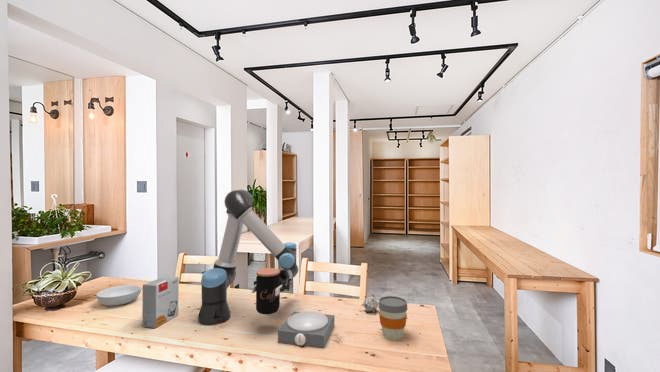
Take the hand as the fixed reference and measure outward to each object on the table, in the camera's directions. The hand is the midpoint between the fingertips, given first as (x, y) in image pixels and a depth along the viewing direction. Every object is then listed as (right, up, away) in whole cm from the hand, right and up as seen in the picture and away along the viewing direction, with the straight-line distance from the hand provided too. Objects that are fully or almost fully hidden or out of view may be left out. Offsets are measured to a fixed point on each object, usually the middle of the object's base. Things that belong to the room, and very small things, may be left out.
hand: (264, 291), depth 138 cm
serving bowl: (-90, -19, +37) cm, 99 cm away
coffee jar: (+1, -10, +4) cm, 11 cm away
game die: (+51, -19, +23) cm, 59 cm away
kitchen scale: (+19, -19, 0) cm, 27 cm away
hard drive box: (-53, -19, +14) cm, 58 cm away
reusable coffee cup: (+57, -19, -2) cm, 60 cm away
